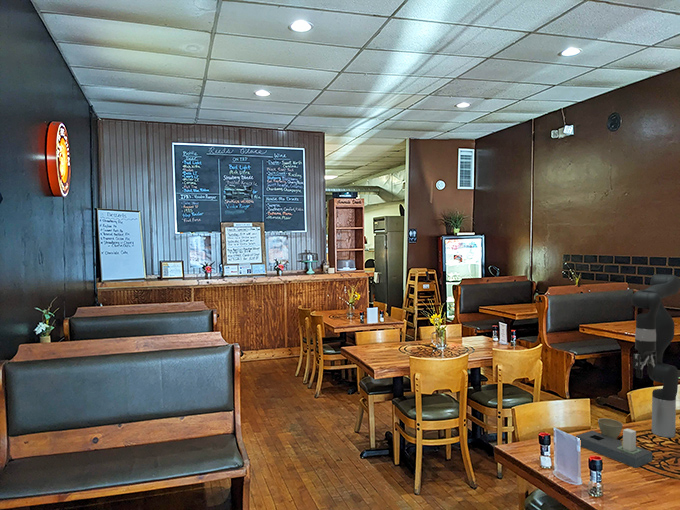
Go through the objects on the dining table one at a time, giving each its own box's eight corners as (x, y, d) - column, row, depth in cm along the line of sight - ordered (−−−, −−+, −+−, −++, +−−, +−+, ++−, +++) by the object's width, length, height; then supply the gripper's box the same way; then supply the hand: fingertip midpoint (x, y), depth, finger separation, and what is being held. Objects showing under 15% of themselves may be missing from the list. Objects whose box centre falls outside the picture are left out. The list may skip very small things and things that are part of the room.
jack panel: (592, 439, 220) (592, 430, 219) (652, 461, 197) (652, 451, 197) (575, 444, 214) (575, 435, 214) (635, 468, 191) (635, 457, 191)
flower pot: (597, 439, 219) (598, 423, 219) (597, 431, 228) (597, 416, 228) (623, 443, 215) (623, 427, 215) (621, 435, 224) (622, 420, 223)
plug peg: (625, 455, 202) (625, 427, 202) (635, 459, 199) (636, 431, 198) (620, 457, 201) (621, 429, 200) (630, 461, 197) (631, 432, 197)
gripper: (645, 335, 210) (644, 372, 211) (626, 338, 203) (626, 376, 204) (663, 338, 204) (663, 376, 204) (645, 342, 197) (644, 381, 197)
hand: (644, 376), depth 204 cm, fingers open, 8 cm apart
